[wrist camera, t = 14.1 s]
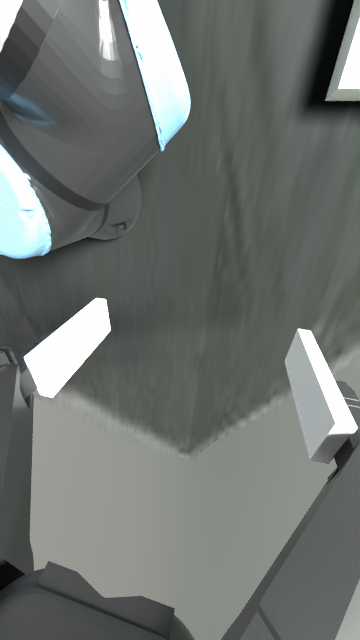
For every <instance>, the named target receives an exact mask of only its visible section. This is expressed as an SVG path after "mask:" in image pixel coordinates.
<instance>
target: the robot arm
mask: <svg viewBox="0 0 360 640" xmlns="http://www.w3.org/2000/svg"><path fill="white" fill-rule="evenodd" d="M189 110H190V94H189V90H188V86H187V82H186V79H185V76H184V73H183V70H182V67H181V64H180V61H179V58H178V56H177V53H176V50H175V47H174V44H173V42H172V39H171V36H170V34H169V31H168V28H167V26H166V23H165V20H164V18H163V15H162V13H161V10H160V7H159V5H158V2H157V0H0V254H1V255H6V256H8V257H10V258H15V259H25V258H29V257H33V256H42V255H44V254H46V253H48V252H49V251H51V250H54V249H57V248H60V247H62V246H65V245H68V244H70V243H73V242H76V241H78V240H81V239H84V238H86V237H91V238H96V239H102V240H108V239H114V238H117V237H119V236H122V235H124V234H125V233H127V232H128V231H130V230H131V229H132V227H133V226H134V225H135V223H136V222H137V220H138V218H139V215H140V211H141V206H142V191H141V185H140V181H139V178H138V175H137V173H138V172H139V171H140V170H141V169H142V168H143V167H144V166H145V165H146V164H147V163H148V162H149V161H150V160H151V159H152V158H153V157H154V156H155V155H156V154H157V153H158V152H159V151H160V152H162V151H163V150H164V149H165V145H166V144H167V142H168V141H169V140H170V139H171V138H172V137H173V136H174V135H175V133H176V132H177V131H178V130H179V129H180V128H181V127H182V126H183V124H184V123H185V121H186V120H187V117H188V115H189ZM110 331H111V330H110V323H109V316H108V309H107V302H106V299H100V298H96V299H94V300H93V301H92V302H91V303H90V304H88V305H87V306H86V307H85V308H83V309H82V310H81V311H80V312H78V313H77V314H76V315H75V316H74V317H72V318H71V319H70V320H69V321H67V322H66V323H65V324H64V325H62V326H61V327H60V328H59V329H58V330H56V329H54V330H52V331H50V332H48V333H46V334H44V335H43V336H42V337H41V338H39V340H37V341H35V342H34V344H32V345H30V346H29V347H28V348H27V349H25V350H24V351H23V352H21V353H20V354H19V355H18V356H16V357H15V355H14V353H13V351H12V348H10V347H8V346H0V640H195V639H194V638H193V636H192V635H191V633H190V632H189V630H188V629H187V628H186V626H185V625H184V624H183V623H182V621H180V620H179V619H178V618H177V617H176V616H175V615H174V608H172V607H169V606H166V605H164V604H161V603H158V602H156V601H153V600H151V599H148V598H145V597H142V596H133V597H116V598H104V597H102V596H101V595H100V594H99V593H98V592H97V591H96V590H95V589H94V588H93V587H92V586H91V585H90V584H89V583H88V582H87V581H86V580H85V579H84V578H83V577H82V576H81V575H80V574H79V573H78V572H76V571H73V570H71V569H68V568H65V567H63V566H60V565H57V564H55V563H52V562H48V563H47V565H46V567H45V569H40V570H36V571H34V566H33V565H34V564H33V553H32V549H31V545H30V535H29V533H30V500H31V498H30V497H31V467H32V433H33V401H34V397H33V394H32V392H33V391H34V390H35V389H36V388H37V389H38V391H39V394H40V395H43V396H47V397H51V398H53V397H54V395H55V394H56V393H57V392H58V391H59V390H60V388H61V387H62V386H63V385H64V384H65V383H66V382H67V380H68V379H69V378H70V377H71V376H72V375H73V373H74V372H75V371H76V370H77V369H78V368H79V366H80V365H81V364H82V363H83V362H84V361H85V360H86V358H87V357H88V356H89V355H90V354H91V353H92V351H93V350H94V349H95V348H96V347H97V346H98V344H99V343H100V342H101V341H102V340H103V339H104V338H105V336H106V335H107V334H108V333H109V332H110ZM285 365H286V369H287V373H288V377H289V381H290V385H291V389H292V392H293V396H294V400H295V404H296V408H297V412H298V415H299V419H300V423H301V427H302V431H303V435H304V439H305V443H306V447H307V451H308V455H309V459H310V460H313V461H317V462H321V463H325V464H329V463H330V461H331V460H332V459H333V458H334V459H335V462H336V464H337V468H336V469H335V470H334V471H333V473H332V474H331V475H330V476H329V477H328V481H327V482H326V484H325V486H324V487H323V489H322V490H321V492H320V493H319V495H318V496H317V498H316V499H315V501H314V502H313V504H312V505H311V507H310V508H309V510H308V511H307V513H306V514H305V516H304V518H303V519H302V521H301V522H300V524H299V525H298V527H297V528H296V530H295V531H294V533H293V534H292V536H291V537H290V539H289V540H288V542H287V543H286V545H285V546H284V548H283V549H282V551H281V552H280V554H279V555H278V557H277V558H276V560H275V561H274V563H273V565H272V566H271V568H270V569H269V571H268V572H267V574H266V575H265V577H264V578H263V580H262V581H261V583H260V584H259V586H258V587H257V589H256V590H255V592H254V593H253V595H252V596H251V598H250V600H249V601H248V603H247V604H246V606H245V607H244V609H243V610H242V612H241V613H240V615H239V616H238V617H237V619H236V620H235V621H234V623H233V624H232V625H231V626H230V628H229V629H228V630H227V632H226V633H225V635H224V636H223V638H222V639H221V640H335V638H336V636H337V633H338V631H339V628H340V625H341V623H342V621H343V618H344V616H345V613H346V610H347V608H348V606H349V603H350V601H351V598H352V596H353V594H354V591H355V589H356V586H357V584H358V581H359V579H360V402H359V400H358V398H357V396H356V394H355V392H354V391H353V390H352V389H351V388H350V387H349V386H348V385H347V384H346V383H345V382H342V381H336V380H334V378H333V376H332V374H331V372H330V370H329V368H328V366H327V364H326V362H325V360H324V358H323V355H322V353H321V351H320V349H319V347H318V345H317V343H316V341H315V339H314V337H313V335H312V333H311V331H309V330H302V329H297V331H296V334H295V336H294V339H293V341H292V344H291V346H290V349H289V351H288V354H287V356H286V359H285Z"/></svg>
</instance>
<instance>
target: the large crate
mask: <svg viewBox="0 0 360 640" xmlns="http://www.w3.org/2000/svg"><path fill="white" fill-rule="evenodd" d="M325 101H360V0H354V3H353V6H352V10H351V13H350V17H349V20H348V23H347V27H346V30H345V34H344V37H343V41H342V44H341V48H340V51H339V54H338V58H337V61H336V65H335V68H334V72H333V75H332V79H331V82H330V86H329V89H328V92H327V96H326V99H325Z"/></svg>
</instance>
